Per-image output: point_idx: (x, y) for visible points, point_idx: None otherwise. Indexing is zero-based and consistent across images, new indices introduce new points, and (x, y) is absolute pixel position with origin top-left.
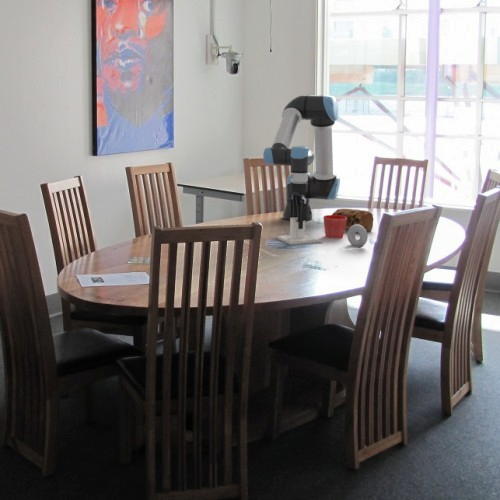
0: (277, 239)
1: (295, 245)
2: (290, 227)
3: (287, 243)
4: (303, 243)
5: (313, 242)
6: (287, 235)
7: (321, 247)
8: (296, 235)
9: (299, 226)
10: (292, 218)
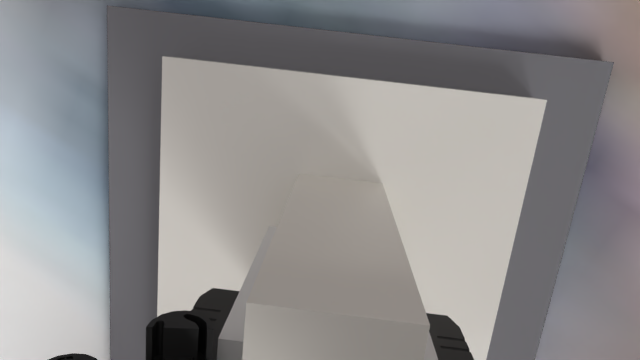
0: (498, 72)
1: (108, 76)
2: (381, 228)
3: (241, 52)
4: None
5: None
6: (508, 231)
7: (7, 292)
8: None
9: (211, 311)
10: (296, 306)
